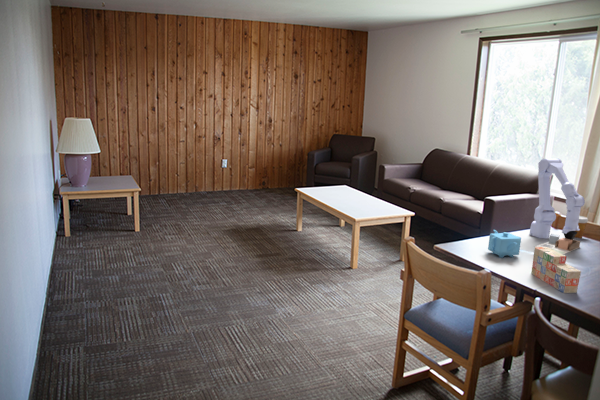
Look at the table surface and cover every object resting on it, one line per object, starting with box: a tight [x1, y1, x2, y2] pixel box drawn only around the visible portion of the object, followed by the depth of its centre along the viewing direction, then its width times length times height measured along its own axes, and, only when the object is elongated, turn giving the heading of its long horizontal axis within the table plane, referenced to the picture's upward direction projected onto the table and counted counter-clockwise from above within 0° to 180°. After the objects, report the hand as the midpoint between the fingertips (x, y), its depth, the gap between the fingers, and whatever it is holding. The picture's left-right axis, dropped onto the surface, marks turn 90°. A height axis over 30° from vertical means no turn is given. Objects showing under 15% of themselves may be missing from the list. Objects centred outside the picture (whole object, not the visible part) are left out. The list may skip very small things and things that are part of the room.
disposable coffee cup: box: [574, 215, 589, 239], centre depth 263 cm, size 10×10×12 cm
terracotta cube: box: [558, 237, 572, 250], centre depth 241 cm, size 4×4×4 cm
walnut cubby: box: [555, 239, 581, 252], centre depth 243 cm, size 7×11×3 cm
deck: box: [534, 241, 581, 255], centre depth 243 cm, size 14×20×1 cm
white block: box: [548, 233, 560, 244], centre depth 250 cm, size 4×4×4 cm
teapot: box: [487, 229, 522, 259], centre depth 232 cm, size 16×18×11 cm
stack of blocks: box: [530, 246, 582, 294], centre depth 198 cm, size 21×6×12 cm, turn 8°
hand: (567, 244), depth 244 cm, fingers closed
